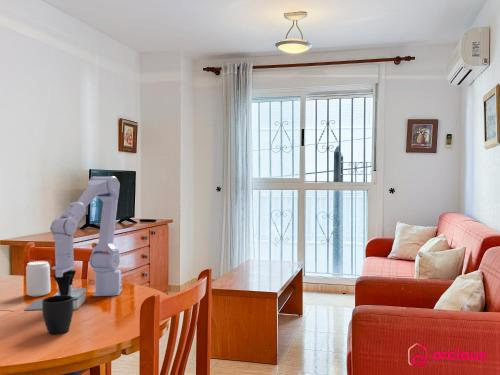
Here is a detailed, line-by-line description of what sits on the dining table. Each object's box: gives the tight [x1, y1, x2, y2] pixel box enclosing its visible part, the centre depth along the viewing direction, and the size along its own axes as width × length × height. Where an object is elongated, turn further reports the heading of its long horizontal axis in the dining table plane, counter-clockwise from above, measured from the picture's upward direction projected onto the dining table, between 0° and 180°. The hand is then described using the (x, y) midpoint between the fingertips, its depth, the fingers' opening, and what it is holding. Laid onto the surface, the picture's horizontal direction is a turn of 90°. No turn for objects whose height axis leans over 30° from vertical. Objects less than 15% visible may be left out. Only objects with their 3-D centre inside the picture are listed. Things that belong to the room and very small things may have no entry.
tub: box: [73, 291, 86, 311], centre depth 165 cm, size 8×12×3 cm, turn 6°
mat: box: [23, 298, 44, 312], centre depth 166 cm, size 8×13×1 cm, turn 6°
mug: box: [41, 294, 74, 336], centre depth 139 cm, size 8×12×10 cm
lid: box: [53, 283, 87, 299], centre depth 164 cm, size 9×13×4 cm
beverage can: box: [25, 260, 51, 298], centre depth 180 cm, size 8×8×12 cm
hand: (65, 293), depth 160 cm, fingers closed on lid, 2 cm apart
